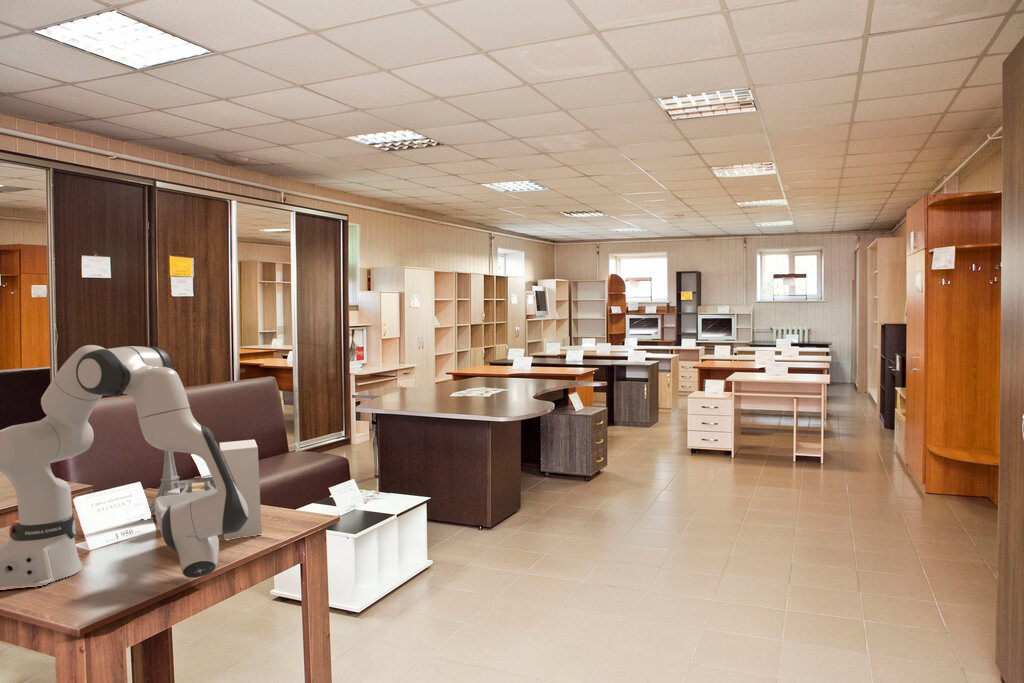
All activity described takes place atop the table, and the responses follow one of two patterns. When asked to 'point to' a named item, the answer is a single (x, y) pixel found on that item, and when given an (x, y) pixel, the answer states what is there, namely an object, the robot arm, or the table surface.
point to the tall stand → (245, 481)
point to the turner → (197, 484)
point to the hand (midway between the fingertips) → (197, 484)
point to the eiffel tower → (167, 478)
